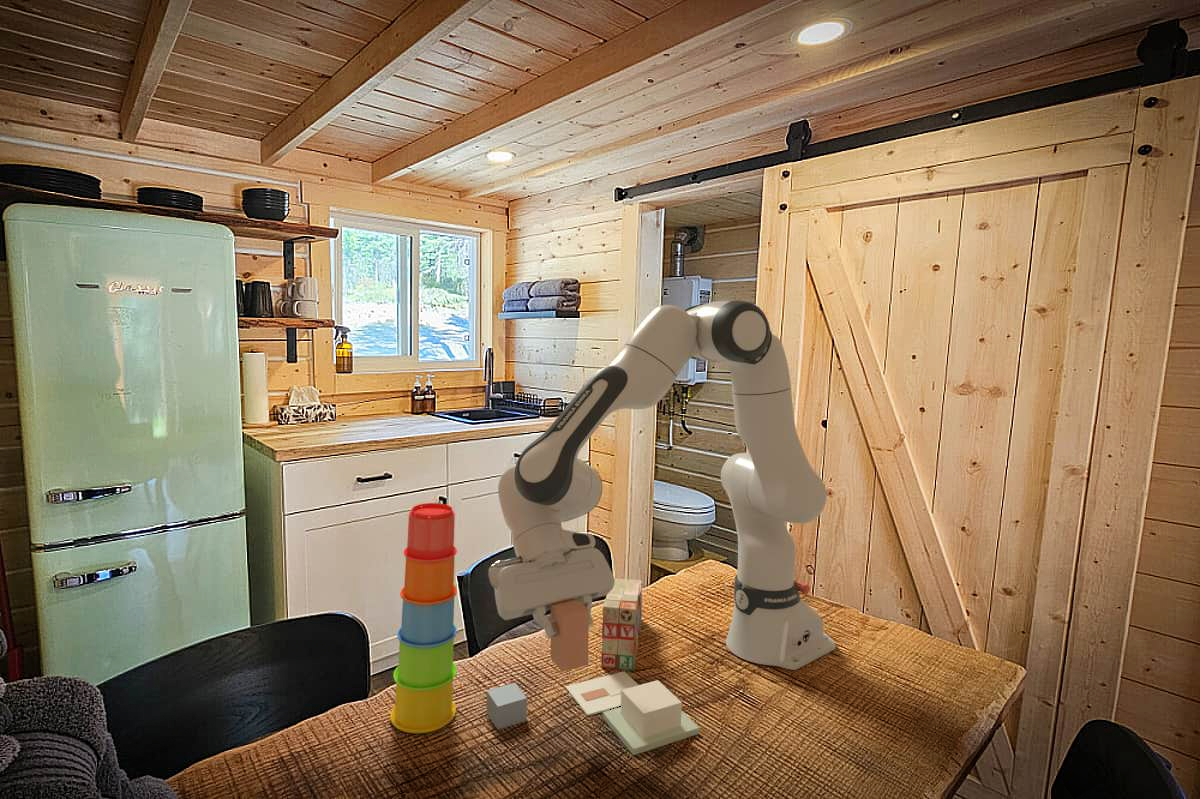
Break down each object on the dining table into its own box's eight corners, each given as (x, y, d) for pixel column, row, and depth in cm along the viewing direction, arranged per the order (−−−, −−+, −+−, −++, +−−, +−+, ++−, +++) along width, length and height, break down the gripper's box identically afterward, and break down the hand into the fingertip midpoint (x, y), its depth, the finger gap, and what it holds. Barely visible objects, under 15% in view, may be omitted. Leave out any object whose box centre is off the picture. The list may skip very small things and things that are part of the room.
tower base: (664, 700, 105) (665, 672, 105) (699, 733, 97) (700, 703, 96) (602, 718, 100) (603, 688, 99) (633, 755, 91) (634, 723, 91)
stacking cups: (442, 690, 107) (442, 495, 103) (466, 720, 98) (467, 509, 95) (382, 709, 101) (380, 503, 97) (402, 743, 92) (400, 519, 89)
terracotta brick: (576, 651, 100) (576, 598, 99) (588, 664, 96) (588, 609, 95) (550, 657, 98) (550, 603, 97) (561, 671, 94) (562, 615, 93)
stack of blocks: (613, 618, 136) (615, 564, 135) (641, 620, 136) (643, 566, 134) (600, 668, 115) (602, 605, 114) (634, 671, 114) (636, 608, 113)
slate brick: (515, 705, 103) (515, 682, 103) (526, 721, 99) (527, 698, 98) (486, 713, 101) (486, 690, 100) (497, 730, 96) (497, 706, 96)
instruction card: (624, 672, 114) (624, 670, 114) (650, 698, 106) (650, 696, 106) (565, 687, 108) (565, 685, 108) (587, 716, 100) (587, 713, 100)
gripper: (490, 554, 96) (516, 640, 88) (601, 533, 107) (632, 608, 99) (480, 572, 100) (504, 656, 93) (587, 550, 111) (616, 624, 104)
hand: (571, 631), depth 96 cm, fingers closed on terracotta brick, 5 cm apart
